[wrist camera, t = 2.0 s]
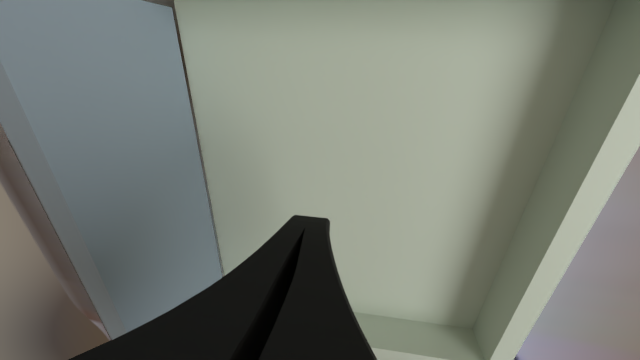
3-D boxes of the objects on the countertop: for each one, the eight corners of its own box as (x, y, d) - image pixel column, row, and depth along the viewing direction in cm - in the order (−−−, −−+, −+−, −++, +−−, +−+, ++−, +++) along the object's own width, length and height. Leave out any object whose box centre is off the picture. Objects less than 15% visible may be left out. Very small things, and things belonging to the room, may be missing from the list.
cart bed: (475, 319, 17) (501, 380, 14) (238, 286, 19) (214, 333, 16) (627, -30, 9) (768, -73, 6) (190, -27, 11) (121, -59, 8)
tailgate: (225, 291, 17) (160, 404, 11) (200, 288, 17) (125, 397, 12) (171, 7, 10) (-50, -44, 5) (131, 7, 10) (-125, -43, 5)
